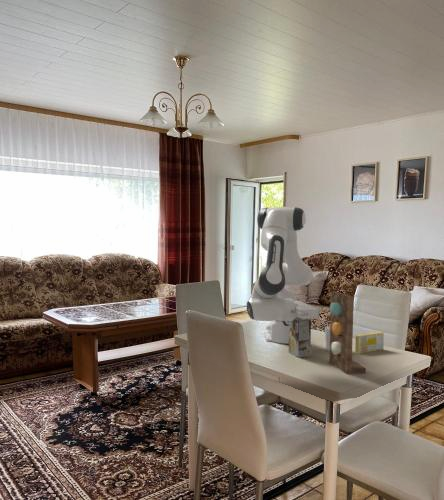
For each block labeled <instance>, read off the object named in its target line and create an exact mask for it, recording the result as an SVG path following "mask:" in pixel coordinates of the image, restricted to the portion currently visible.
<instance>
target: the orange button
mask: <svg viewBox="0 0 444 500" xmlns="http://www.w3.org/2000/svg"><path fill="white" fill-rule="evenodd" d="M332 332H333V334H334V335H342V323H341V322H334V323H333V324H332Z"/></svg>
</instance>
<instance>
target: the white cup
mask: <svg viewBox="0 0 444 500" xmlns="http://www.w3.org/2000/svg"><path fill="white" fill-rule="evenodd" d="M324 334H325V335H324V336H325V338H324V339H325V350H326V351H330V326H325V333H324Z"/></svg>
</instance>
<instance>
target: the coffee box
mask: <svg viewBox="0 0 444 500" xmlns="http://www.w3.org/2000/svg"><path fill="white" fill-rule="evenodd" d="M311 333H312V319H304V318H299V317H296V318H294V320H293V321H289V344H288V353H290V354H291V355H294V356H296V357H297V358H305V357H311V338H312V337H311V335H312V334H311Z"/></svg>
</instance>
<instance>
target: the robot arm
mask: <svg viewBox="0 0 444 500" xmlns="http://www.w3.org/2000/svg"><path fill="white" fill-rule="evenodd" d="M306 220H307V217H306V214H305V211H304V209H302V208H300V207H292V206H291V207H290V206H275V207H263V208H261V209H260V210H259V211H258V213H257V216H256V223H257V227H259V229H260V230H261V234H260V245H261V247H262V248H263V249H264V250H265V251H267V255H266V263H264V265H263V266H262V268H261V270H260V274H259V277H258V278H257V280H256V281H255V283H254V284H253V287H252V292H251V294H250V297H249V299H248V301H247V302H246V312H247V315H248V317H249V318H250V319H251V320H252V321H256V322H270V323H269V324H268V325H266V326H265V327H266V331H265V332H264V334H263V335H264V337H265V341H267V342H273V343H278V344H286V345H287V344H288V345H289V321H293V320H294V318H296V317H299V318H304V319H308V320H316V319H319V318H320V313H323V308H322V307H321V306H318V305H317V306H316V305H315V306H314V305H310V304H309V303H306V302H304V301H302V300H297V297H296V295H295V294H294V293H292V292H290V291H288V289H286V286H296V287H297V286H298V287H299V286H307V285H309V284H310V283H311V281H312V280H313V276H314V275H313V269H312V268H311V267H310V266H309V265H308V264H306V262H305V261H303V259H302V258H301V256H300V253H299V251H298V240H297V238H298V237H297V236H298V235H297V232H298V231H301V230H302V229H303V228H304V227H305V224H306Z"/></svg>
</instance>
